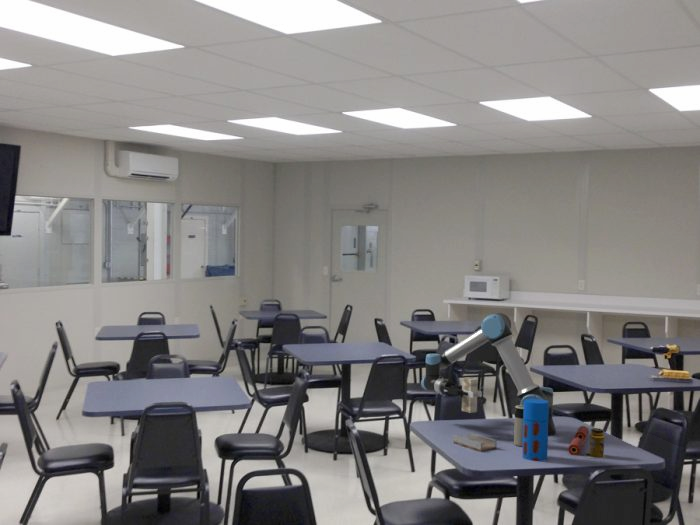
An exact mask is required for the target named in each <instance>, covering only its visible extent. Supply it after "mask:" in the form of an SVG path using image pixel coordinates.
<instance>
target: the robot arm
mask: <svg viewBox="0 0 700 525" xmlns="http://www.w3.org/2000/svg"><path fill="white" fill-rule="evenodd" d="M480 325H481V326H480V328H479V329H478V330H476V331H474V332H473V333H471V334H470V335H468V336H467V337H465V338H463V339H462V340H460V341H459V342H457V343H455V344H454V345H453V346H451V347H449V348H448V349H446V350H445V351H443V352H442V353H440V354H439V353H427V354H426V355H425V375H424V376H423V377H422V379H421V381H420V385H421V388H422V389H424V390H425V391H428V392H433V393H436V394H440V396H443V395H444V396H458V397H459V396H460V398H462V397H463V396H466V397H471V398H474V392H471V391H466V390H464V392H463V390H462V385H458V384H456V383H455V382H453V381H452V380H448V379H443V378H441V371H442V370H445V369H447V368H449V366H451V365H452V364H454V363H455V362H457V361H458V360H460V359H462V358H464V357H465V356H467V355H469V354H470V353H472V352H473V351H475V350H476V349H478V348H479V347H481V346H483V345H485V344H486V343H488V342H489V343H490V344H491V346H493V347H495V348H496V350H497V351H498V354H499V356H500V357H501V360H502V362H503V365H504V366H505V367H506V370H507V372H508V373H509V376H510V378H511V380H512V382H513V383H514V385H515V387H516V389H517V395H516V396H517V399H518V400H519V402H520V403H519V405H524V400H525V399H541V400H546V401H548V403H549V418H548V437H550V436H554V435H556V434H557V433H556V431H557V430H556V426H555V422H554V419H553V415H554V414H553V412H554V411H553V408H554V390H553V388H552V387H546V386H545V387H544V386H539V384H537V383H535V382H534V380H533V378H532V376H531V375H530V372H529V370H528V369H527V367H526V365H525V363H524V361H523V359H522V357H521V354H520V353H519V350H518V349H517V347H516V345H515V343H514V341H513V339H512V338H513V335H514V334H513V333H512V330H511V328H512V322H511V318H509V316H507V314H505V313H502V312H500V313H499V312H498V313H492V314H490V315H487V316H486V317H484V319H483V320H482V321H481V324H480ZM482 397H483V391H482V390H479V389H477V398H482Z"/></svg>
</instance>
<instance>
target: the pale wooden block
mask: <svg viewBox="0 0 700 525" xmlns="http://www.w3.org/2000/svg"><path fill="white" fill-rule="evenodd" d="M461 380H462V382H461V386H462V390H463V392H464V390H466V391H471V392H474V398H471V397H466V396H463V397H461V412H466V413H469V414H472V413H473V414H474V413H478V396H477V390H478V384H479V383H478V382H479V381H478V380H479V379H478V378H473V377H468V376H467V377H462V378H461Z"/></svg>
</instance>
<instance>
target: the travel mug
mask: <svg viewBox="0 0 700 525" xmlns="http://www.w3.org/2000/svg"><path fill="white" fill-rule="evenodd" d="M523 411H524V405H520V404H518V405H515V412H514V420H513V421H514V426H513V427H514V428H513V429H514V430H513V444H514V445H515V446H516V445H517V446H518V447H523ZM517 446H516V447H517Z"/></svg>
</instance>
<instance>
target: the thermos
mask: <svg viewBox="0 0 700 525" xmlns="http://www.w3.org/2000/svg"><path fill="white" fill-rule="evenodd" d="M548 418H549V403H548V401H546V400H541V399H525V400H524V411H523V447H522V458H523V459H526V460H529V461H535V462H537V461H538V462H543V461H546V460H548V451H549V450H548V449H549V436H548Z"/></svg>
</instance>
